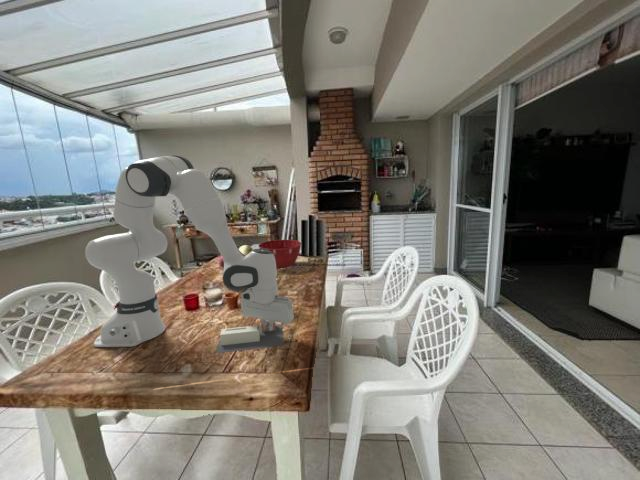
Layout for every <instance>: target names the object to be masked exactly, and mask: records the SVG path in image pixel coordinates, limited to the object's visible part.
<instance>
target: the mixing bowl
mask: <svg viewBox="0 0 640 480" xmlns="http://www.w3.org/2000/svg"><path fill="white" fill-rule="evenodd" d="M301 245H302V242H301V241H300V240H294V239H275V240H268V241H267V240H266V241H263V242H261V243H259V244H258V249H266V250H269V251H271V252H272V253H273V254H274V257H275V261H276V269H277V270H281V269H280V268H283V269H287V267H288V268H290V267H291V266H293V265H294V264H295V263H296V261H297V259H298V256H299V254H300V251H301V250H300V249H301Z"/></svg>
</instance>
